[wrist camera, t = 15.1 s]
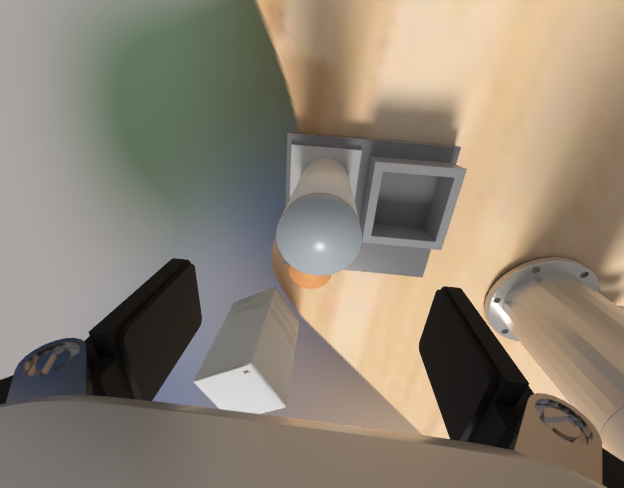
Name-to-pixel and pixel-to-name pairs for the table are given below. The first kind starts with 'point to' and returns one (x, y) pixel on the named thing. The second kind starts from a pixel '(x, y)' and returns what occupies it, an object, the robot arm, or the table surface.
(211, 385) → the supplement box
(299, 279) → the glossy orange sphere
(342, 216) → the cylinder
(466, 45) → the table surface
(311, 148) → the grey compartment tray
